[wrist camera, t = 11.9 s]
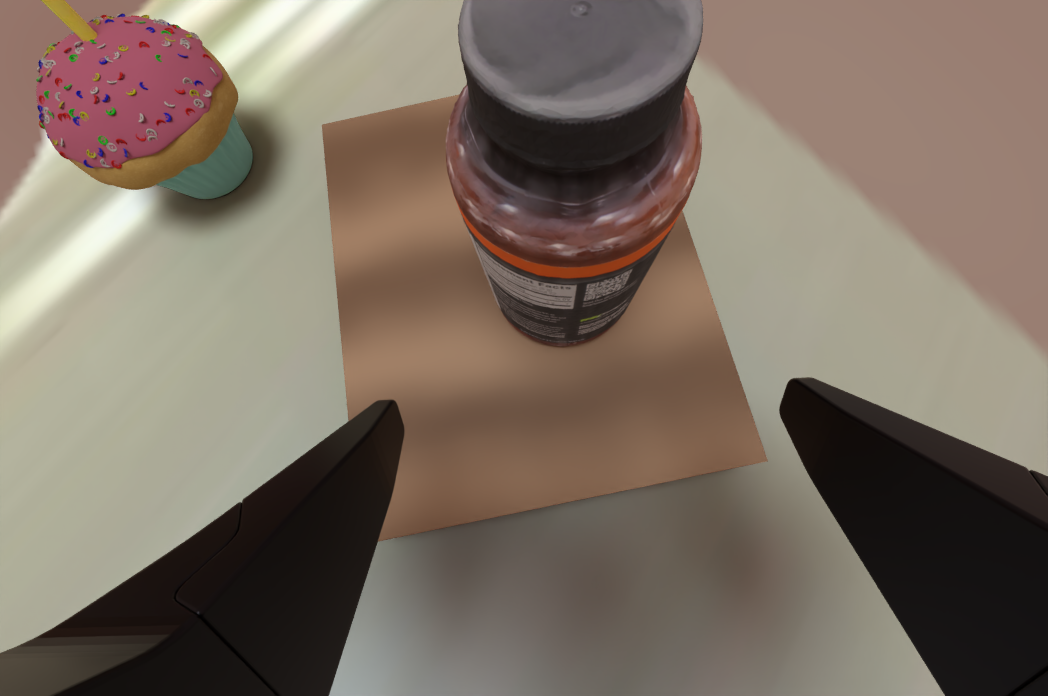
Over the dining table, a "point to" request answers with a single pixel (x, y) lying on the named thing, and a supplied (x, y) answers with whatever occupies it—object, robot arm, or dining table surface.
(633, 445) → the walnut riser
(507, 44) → the supplement bottle
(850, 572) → the dining table surface
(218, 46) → the dining table surface
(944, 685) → the robot arm
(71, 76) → the cupcake
